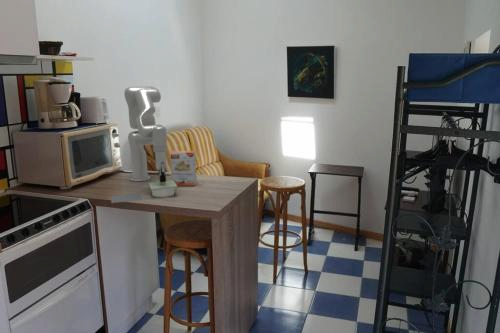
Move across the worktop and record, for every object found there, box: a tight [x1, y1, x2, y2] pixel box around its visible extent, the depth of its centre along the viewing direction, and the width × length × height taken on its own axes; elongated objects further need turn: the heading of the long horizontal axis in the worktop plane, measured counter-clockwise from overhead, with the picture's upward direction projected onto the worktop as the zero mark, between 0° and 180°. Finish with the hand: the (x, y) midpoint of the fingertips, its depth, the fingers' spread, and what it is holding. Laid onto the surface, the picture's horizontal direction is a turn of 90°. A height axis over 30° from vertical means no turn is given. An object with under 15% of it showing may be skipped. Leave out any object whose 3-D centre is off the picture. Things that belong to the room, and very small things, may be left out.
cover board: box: [148, 173, 178, 191], centre depth 232 cm, size 14×14×7 cm
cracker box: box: [170, 150, 197, 187], centre depth 251 cm, size 14×6×21 cm, turn 84°
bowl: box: [151, 188, 175, 198], centre depth 233 cm, size 12×12×5 cm
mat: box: [110, 192, 143, 204], centre depth 227 cm, size 14×16×1 cm
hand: (162, 180), depth 232 cm, fingers open, 4 cm apart
